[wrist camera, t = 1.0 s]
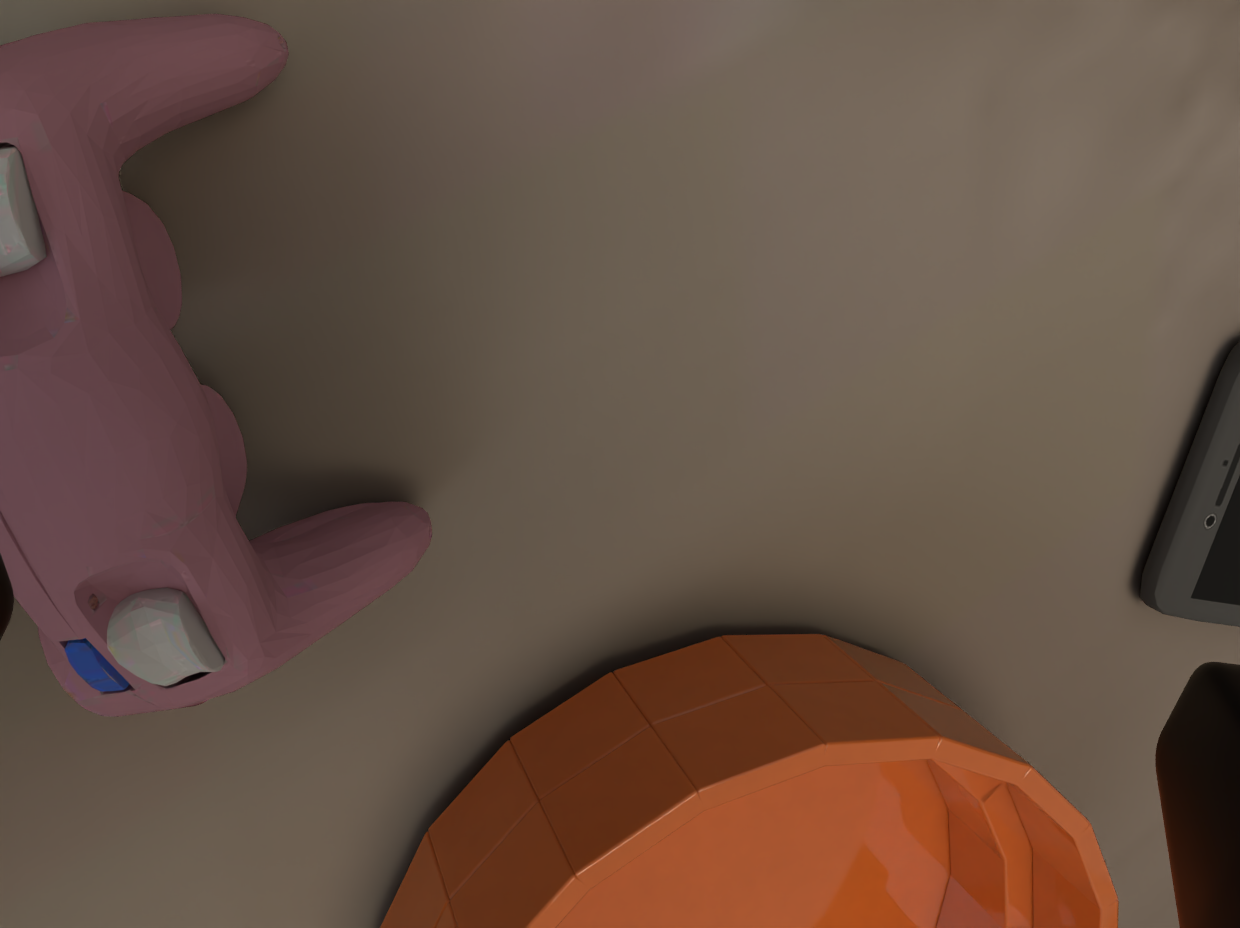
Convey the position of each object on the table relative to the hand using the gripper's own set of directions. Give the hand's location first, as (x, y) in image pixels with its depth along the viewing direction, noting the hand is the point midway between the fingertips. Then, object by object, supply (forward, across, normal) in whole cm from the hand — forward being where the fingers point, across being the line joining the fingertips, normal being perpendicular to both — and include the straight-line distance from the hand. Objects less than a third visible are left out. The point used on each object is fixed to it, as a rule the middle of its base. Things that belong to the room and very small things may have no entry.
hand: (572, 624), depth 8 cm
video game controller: (+10, +8, +4) cm, 13 cm away
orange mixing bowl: (+10, -2, +19) cm, 21 cm away
